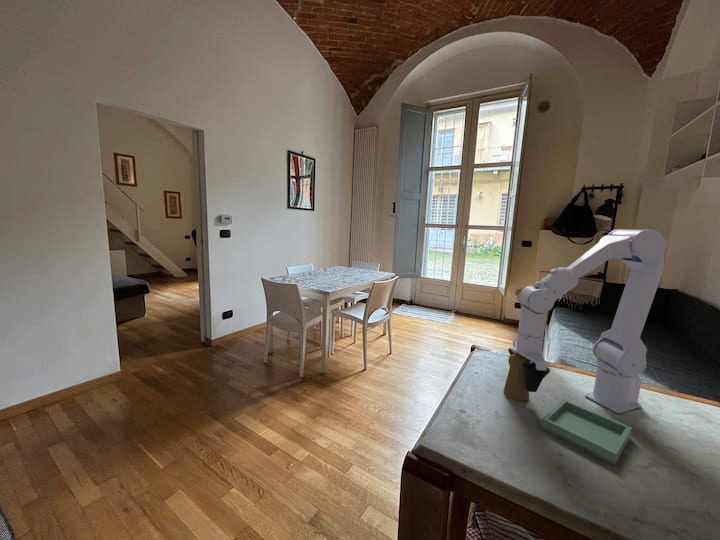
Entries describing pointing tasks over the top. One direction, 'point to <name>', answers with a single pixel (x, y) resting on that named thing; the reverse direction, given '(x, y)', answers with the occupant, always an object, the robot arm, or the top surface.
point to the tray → (587, 430)
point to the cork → (516, 378)
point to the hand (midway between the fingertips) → (524, 383)
